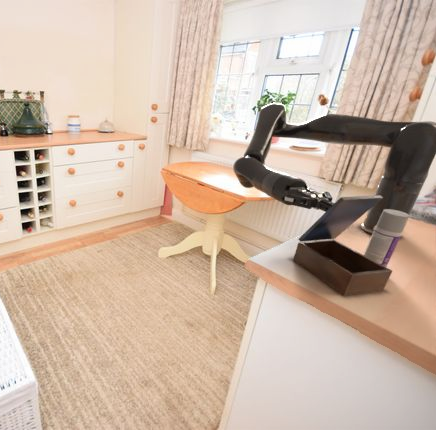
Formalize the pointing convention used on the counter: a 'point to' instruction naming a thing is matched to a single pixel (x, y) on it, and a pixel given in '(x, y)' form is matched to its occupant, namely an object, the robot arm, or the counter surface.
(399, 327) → the counter surface
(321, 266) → the case
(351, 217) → the cover
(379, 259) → the container
